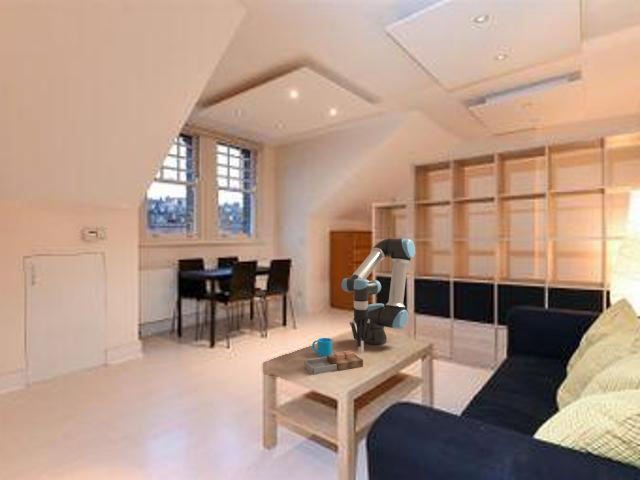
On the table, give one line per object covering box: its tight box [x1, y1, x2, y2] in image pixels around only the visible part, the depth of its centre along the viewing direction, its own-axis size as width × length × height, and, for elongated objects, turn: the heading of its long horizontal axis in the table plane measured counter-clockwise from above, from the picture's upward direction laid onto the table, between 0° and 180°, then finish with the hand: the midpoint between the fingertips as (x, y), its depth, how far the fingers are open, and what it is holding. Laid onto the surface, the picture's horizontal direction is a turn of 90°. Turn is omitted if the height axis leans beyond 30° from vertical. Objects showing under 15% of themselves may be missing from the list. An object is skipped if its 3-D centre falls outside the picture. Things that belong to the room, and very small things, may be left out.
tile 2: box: [342, 349, 356, 359], centre depth 207 cm, size 4×4×2 cm
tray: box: [303, 357, 338, 375], centre depth 200 cm, size 13×12×3 cm
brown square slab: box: [327, 353, 364, 372], centre depth 206 cm, size 14×14×4 cm
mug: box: [311, 337, 333, 358], centre depth 222 cm, size 12×8×8 cm
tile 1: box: [333, 351, 345, 360], centre depth 205 cm, size 4×4×2 cm
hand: (361, 352), depth 210 cm, fingers closed
